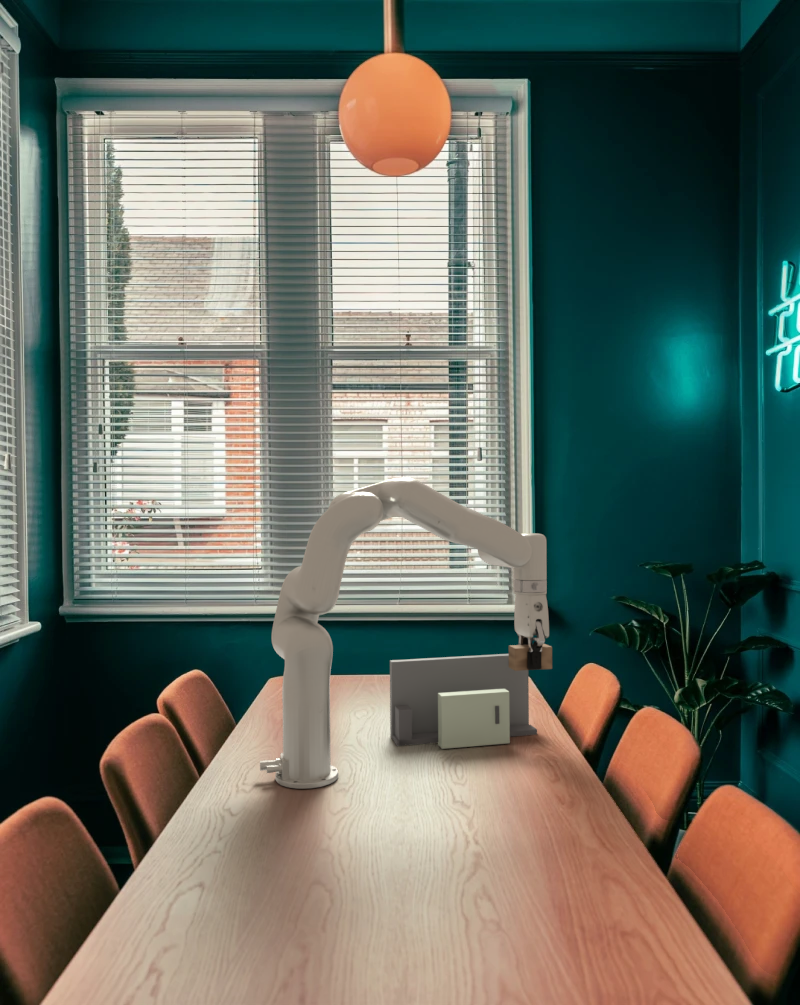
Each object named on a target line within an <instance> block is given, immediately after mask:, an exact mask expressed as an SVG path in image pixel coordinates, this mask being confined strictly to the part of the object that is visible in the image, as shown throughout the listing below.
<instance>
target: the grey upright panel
mask: <svg viewBox="0 0 800 1005" xmlns="http://www.w3.org/2000/svg"><path fill="white" fill-rule="evenodd" d="M490 689H506V690H508V691H509V716H510V738H511V737H521V736H522V737H524V736H535V735H536V736H537V735H538V728H536V727H534V726H533V725H531V724H530V719H529V718H530V711H529V710H530V708H529V707H530V705H529V704H530V702H529V701H530V700H529V698H530V697H529V670H521V671H515V670H513V669H511V668H509V653H499V654H498V653H496V654H495V653H494V654H481V655H477V654H476V655H464V656H463V655H462V656H446V657H445V656H444V657H443V656H442V657H427V658H426V657H425V658H410V659H392V660H391V659H390V660H389V702H390V703H389V710H390V711H389V712H390V714H389V718H390V720H389V721H390V724H389V726H390V729H389V730H390V738H391V739H392V741H393V743H394V744H395V745H396V746H397V747H398V746H411V745H412V746H413V745H423V744H436V743H438V693H446V692H461V691H476V690H490Z"/></svg>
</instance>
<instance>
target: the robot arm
mask: <svg viewBox="0 0 800 1005" xmlns="http://www.w3.org/2000/svg"><path fill="white" fill-rule="evenodd" d="M395 517H398V518H400V517H401V518H403V519H404V520H407V521H408V522H410V523H412V524H413V525H416V526H419V527H420V528H422V529H424V530H425V531H428V532H429V533H431V534H432V535H435V536H436V537H438V538H440V539H442V540H445V541H446V542H451V543H454V544H457V545H463V546H467V547H470V548H473V549H474V550H475V549H476V550H477V554H478V556H479V558H480V559H481V560H482V561H483V562H485V563H486V564H488V565H491V566H493V567H494V566H495V567H505V568H511V569H512V568H513V574H512V575H513V576H512V577H513V594H514V595H515V597H514V598H515V600H514V616H513V618H514V619H513V620H514V623H513V624H514V625H513V626H514V631H515V632H516V634H517V639H518V645H529V652H527V668H528V669H529V670H528V671H534V670H535V669H540V670H542V669H541V652H542V645H543V644H545V642H546V639H548V638H549V637H550V620H549V608H548V600H547V593H548V592H547V589H548V588H547V585H548V584H547V583H548V582H547V579H548V578H547V577H548V576H547V573H548V572H547V565H548V564H547V562H548V561H547V537H546V536H545V535H544V534H542V533H538V532H537V533H535V532H532V533H530V532H529V533H527V532H526V533H525V532H523V533H521V532H518V531H517V530H515V529H514V528H512V527H510V526H508V525H506V524H505V523H504V522H501V521H499V520H497V519H495V518H492V517H490V516H488V515H485V514H483V513H481V512H479V511H476V510H474V509H472V508H469V507H467V506H465V505H462V504H460V503H458V502H457V501H454V500H453V499H451V498H449V497H447V496H445V495H444V494H443V493H441V492H438V491H437V490H436V489H434V488H432V487H430V486H428V485H427V484H425V483H424V482H421V481H419V480H417V479H415V478H411V477H399V478H391V479H386V480H383V481H379V482H376V483H373V484H370V485H367V486H364V487H361V488H356V489H353V490H350V491H345V492H342V493H340V494H337V496H335V497H334V498H333V499H332V500H331V501H330V503H329V506H328V508H327V509H326V511H324V512H323V513H322V515H320V516H319V518H318V519H317V520H316V521H315V524H314V525H313V527H312V529H311V531H310V533H309V536H308V540H307V544H306V546H305V547H306V548H305V551H304V555H303V559H302V561H301V562H302V563H301V565H299V566H296V567H294V568H293V569H292V570H290V572H288V574H287V575H285V576H286V577H285V578H284V580H283V582H282V585H281V588H280V592H279V597H278V601H277V605H276V610H275V615H274V618H273V624H272V628H271V644H272V647H273V649H274V651H275V652H276V654H277V655H278V656H279V657H281V659H283V660H284V668H283V677H282V688H281V689H282V690H281V697H282V699H281V700H282V701H281V702H282V752H281V753H280V757H276V758H275V759H273V760H272V759H271V760H269V759H267V760H265V759H264V760H262V759H261V760H259V771H266V774H273V773H275V775H274V777H275V779H274V780H275V781H276V783H277V784H279V786H282V787H285V788H290V789H297V790H298V789H299V790H301V789H302V790H304V789H305V790H306V789H315V788H316V789H317V788H321V787H326V786H328V785H330V784H333V783H334V782H336V780H338V779H339V770H338V768H337V767H336V766H334V765H332V764H331V758H332V757H331V671H332V670H331V669H332V663H333V656H334V655H333V654H334V653H333V652H334V645H333V641H332V638H331V636H330V633H329V632H328V631H327V630H326V628H325V627H323V625H321V624H320V623H318V622H319V617H320V616H322V615H326V614H328V613H329V612H331V611H332V610H333V609H334V608H335V606H336V604H337V602H338V599H339V595H340V589H341V586H342V585H341V584H342V580H343V574H344V570H345V565H346V561H347V557H348V554H349V552H350V549H351V547H352V545H353V543H354V542H355V541H356V539H358V538H359V537H360V536H361V535H362V534H364V533H367V532H370V531H372V530H374V529H375V528H377V527H378V525H379V524H380V523H381V522H382V521H385V520H389V519H391V518H395ZM534 636H536V637H534ZM535 671H536V670H535Z"/></svg>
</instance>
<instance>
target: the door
mask: <svg viewBox="0 0 800 1005" xmlns="http://www.w3.org/2000/svg"><path fill="white" fill-rule="evenodd" d="M510 742H511V737H510V716H509V691H508V690H506V689H490V690H476V691H461V692H446V693H438V744H437V745H438V746H439V747H440V749H442V750H445V749H454V748H455V749H456V748H467V747H469V748H470V747H480V746H482V747H483V746H492V745H504V744H505V745H506V744H510Z"/></svg>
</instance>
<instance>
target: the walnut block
mask: <svg viewBox="0 0 800 1005" xmlns="http://www.w3.org/2000/svg"><path fill="white" fill-rule="evenodd" d="M527 652H529V645H519V644H516V645H515V644H514V645H513V644H512V645H511V644H510V645H508V654H509V668H511V669H513V670H515V671H521V670H528V671H530V670H529V669H528V668H527ZM552 669H553V646H552V645H549V644H546V643H544V644H543V645H542V652H541V669H535V671H536V670H552Z"/></svg>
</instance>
